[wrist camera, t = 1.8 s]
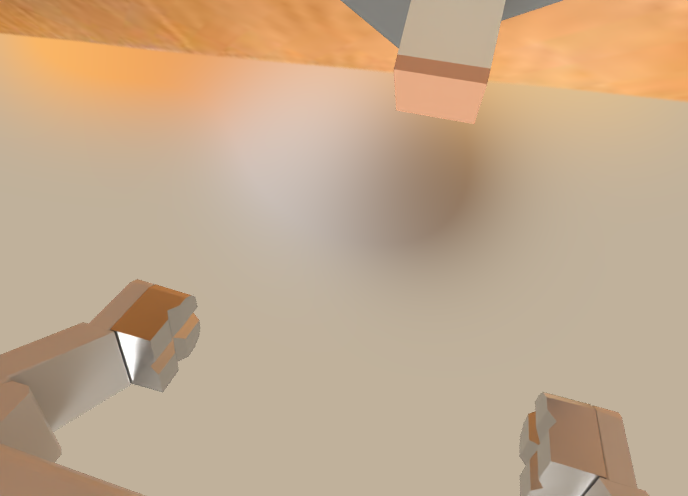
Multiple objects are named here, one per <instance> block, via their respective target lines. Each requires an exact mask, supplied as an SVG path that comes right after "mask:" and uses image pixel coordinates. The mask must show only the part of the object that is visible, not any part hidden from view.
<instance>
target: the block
mask: <svg viewBox="0 0 688 496" xmlns="http://www.w3.org/2000/svg"><path fill="white" fill-rule="evenodd" d="M505 1H506V0H411V2H410V6H409V10H408V14H407V18H406V22H405V26H404V30H403V34H402V38H401V42H400V46H399V51H398V55H397V59H396V63H395V67H394V81H395V98H396V110H397V111H403V112H409V113H414V114H420V115H426V116H432V117H437V118H443V119H449V120H454V121H460V122H466V123H472V124H474V123H475V120H476V117H477V114H478V111H479V108H480V105H481V101H482V98H483V95H484V92H485V89H486V86H487V82H488V78H489V73H490V69H491V64H492V60H493V55H494V51H495V46H496V42H497V37H498V33H499V28H500V23H501V19H502V14H503V10H504V5H505Z"/></svg>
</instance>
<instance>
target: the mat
mask: <svg viewBox="0 0 688 496" xmlns="http://www.w3.org/2000/svg"><path fill="white" fill-rule="evenodd" d="M341 1H342V2H343V3H345V4H346V5H347V6H348V7H349V8H351V9H352V10H353V11H354V12H355V13H357V14H358V15H359V16H360V17H361V18H363V19H364V20H365V21H366V22H367V23H369V24H370V25H371V26H372V27H374V28H375V29H376V30H377V31H378V32H380V33H381V34H382V35H383V36H384V37H386V38H387V39H388V40H389V41H390V42H392V43H393V44H394V45H395V46H396V47H398V48H399V46H400V42H401V38H402V34H403V30H404V26H405V22H406V18H407V14H408V10H409V6H410V2H411V0H341ZM559 1H562V0H506V1H505V5H504V10H503V14H502V19H501V21H502V20H505V19H508V18H511V17H514V16H517V15H520V14H523V13H526V12H529V11H532V10H535V9H538V8H541V7H544V6H547V5H550V4H553V3H556V2H559Z"/></svg>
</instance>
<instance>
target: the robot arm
mask: <svg viewBox="0 0 688 496" xmlns="http://www.w3.org/2000/svg"><path fill="white" fill-rule="evenodd" d="M196 308H197V303H196V298H195V297H194V296H191V295H188V294H185V293H182V292H178V291H175V290H172V289H169V288H165V287H162V286H159V285H156V284H152V283H148V282H145V281H142V280H138V279H137V280H135V281H132V282H130V283H129V284H128V285H127V286H126V287H125V288H124V289H123V290H122V291H121V292H120V293H119V294H118V295H117V296H116V297H115V298H114V299H113V300H112V301H111V302H110V303H109V304H108V305H107V306H106V307H105V308H104V309H103V310H102V311H101V312H100V313H99V314H98V315H97V316H96V317H95V318H94V319H93V320H92V321H91V322H90V323H89V324H88V323H84V322H83V323H80V324H78V325H75V326H73V327H70V328H67V329H65V330H62V331H60V332H57V333H55V334H52V335H50V336H47V337H44V338H42V339H40V340H37V341H34V342H32V343H29V344H27V345H24V346H21V347H19V348H17V349H14V350H11V351H9V352H6V353H4V354H1V355H0V496H145V495H142V494H139V493H137V492H134V491H131V490H128V489H126V488H123V487H120V486H117V485H115V484H112V483H109V482H106V481H103V480H100V479H98V478H95V477H92V476H89V475H87V474H84V473H81V472H79V471H76V470H73V469H70V468H67V467H65V466H62V465H59V464H56V463H55V461H56V460H57V459H58V458H59V457H60V455H61V447H60V445H59V443H58V441H57V439H56V437H55V435H54V433H53V432H54V431H56V430H58V429H59V428H61V427H62V426H64V425H66V424H67V423H69V422H70V421H72V420H74V419H76V418H77V417H79V416H81V415H82V414H84V413H85V412H87V411H89V410H90V409H92V408H94V407H95V406H97V405H99V404H100V403H102V402H103V401H105V400H106V399H109V398H110V397H112V396H113V395H115V394H117V393H118V392H120V391H122V390H123V389H125V388H127V387H128V386H130V385H131V384H130V383H132V384H135V385H139V386H142V387H147V388H149V389H153V390H157V391H160V392H163V391H164V390H165V389H166V387H167V386H168V384H169V383H170V382H171V380H172V379H173V377H174V376H175V375H176V373H177V372H178V361H180V360H182V359H184V358H186V357H188V356H189V355H190V353H191V352H192V350H193V349H194V347H195V345H196V343H197V340H198V337H199V332H200V322H199V319H198V318H197V317H196V315H195V314H194V313H193V312H194V311H195V309H196ZM535 410H536V411H535V412H532V413H530V414H528V416H527V418H526V420H525V422H524V424H523V428H522V432H521V436H520V458H521V459H522V461H523V462H524V464H525V465H526V466H525V468H524V470H523V471H522V473H521V475H520V496H649V495H648V494H647V492H646V491H643V490H641V489H638V488H637V484H636V479H635V475H634V470H633V466H632V461H631V456H630V452H629V447H628V443H627V438H626V434H625V429H624V425H623V420H622V417H621V415H620V414H619V413H618V412H615V411H611V410H608V409H604V408H600V407H597V406H591V405H590V404H587V403H583V402H579V401H575V400H572V399H568V398H564V397H560V396H556V395H553V394H548V393H545V392H543V393H541V394H540V395H539V396H538V398H537V400H536V401H535Z"/></svg>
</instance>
